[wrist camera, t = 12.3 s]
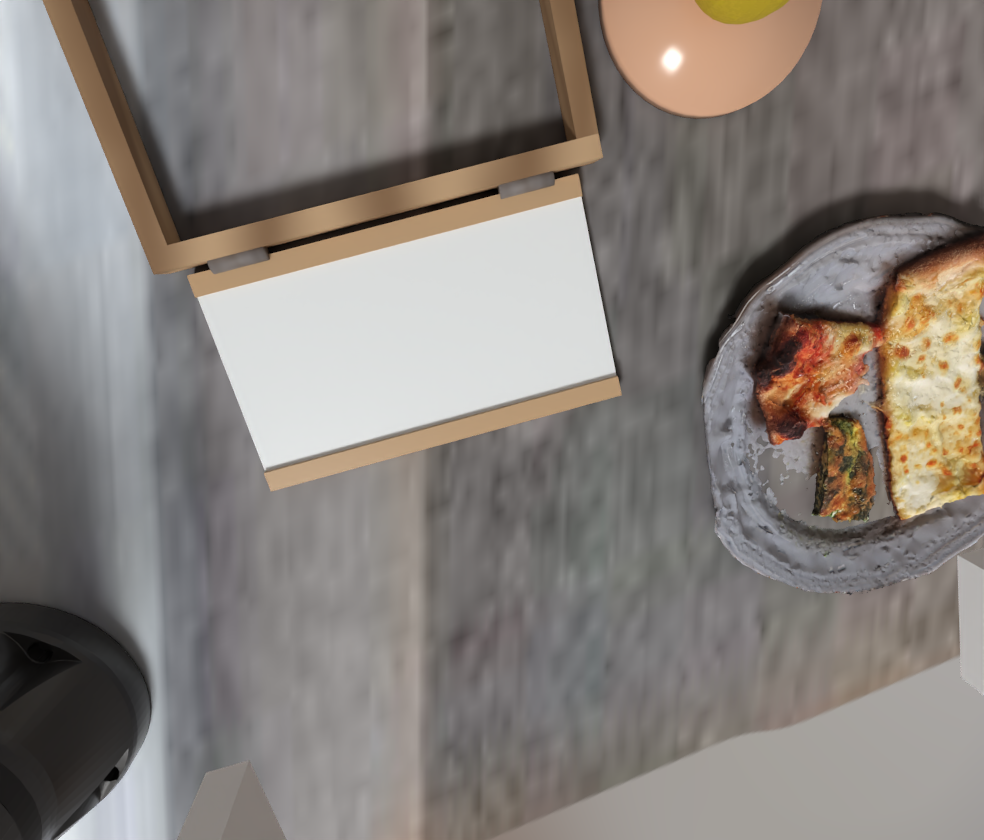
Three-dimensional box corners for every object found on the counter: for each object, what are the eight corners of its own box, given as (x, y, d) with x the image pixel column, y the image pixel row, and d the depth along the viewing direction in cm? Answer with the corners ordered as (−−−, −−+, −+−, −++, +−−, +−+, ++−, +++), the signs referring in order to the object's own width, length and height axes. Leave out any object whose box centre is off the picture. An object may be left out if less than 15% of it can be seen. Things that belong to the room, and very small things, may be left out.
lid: (275, 485, 36) (271, 491, 36) (193, 275, 33) (186, 275, 32) (616, 391, 37) (621, 395, 36) (573, 175, 34) (578, 173, 33)
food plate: (673, 257, 35) (700, 259, 32) (1032, 177, 37) (1094, 170, 33) (710, 607, 43) (735, 638, 40) (1007, 530, 44) (1055, 554, 41)
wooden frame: (174, 286, 33) (159, 287, 31) (42, -47, 28) (14, -69, 26) (595, 176, 34) (605, 170, 32) (531, -165, 29) (538, -195, 27)
